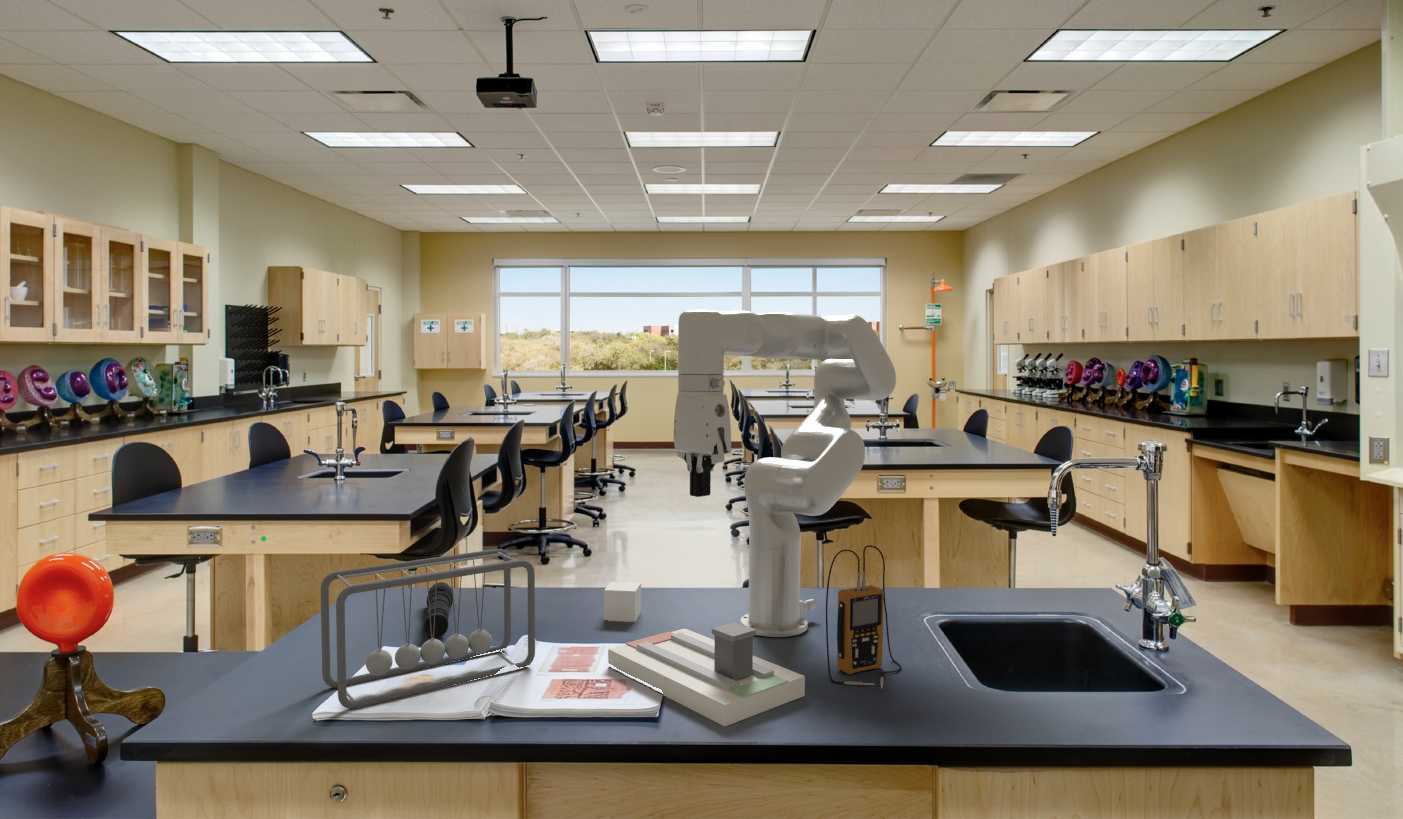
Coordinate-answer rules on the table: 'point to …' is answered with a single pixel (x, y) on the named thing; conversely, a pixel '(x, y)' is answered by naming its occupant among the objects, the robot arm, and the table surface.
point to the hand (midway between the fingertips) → (700, 495)
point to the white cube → (622, 601)
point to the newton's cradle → (432, 648)
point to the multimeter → (859, 626)
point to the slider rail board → (705, 676)
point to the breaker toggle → (733, 650)
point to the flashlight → (438, 609)
